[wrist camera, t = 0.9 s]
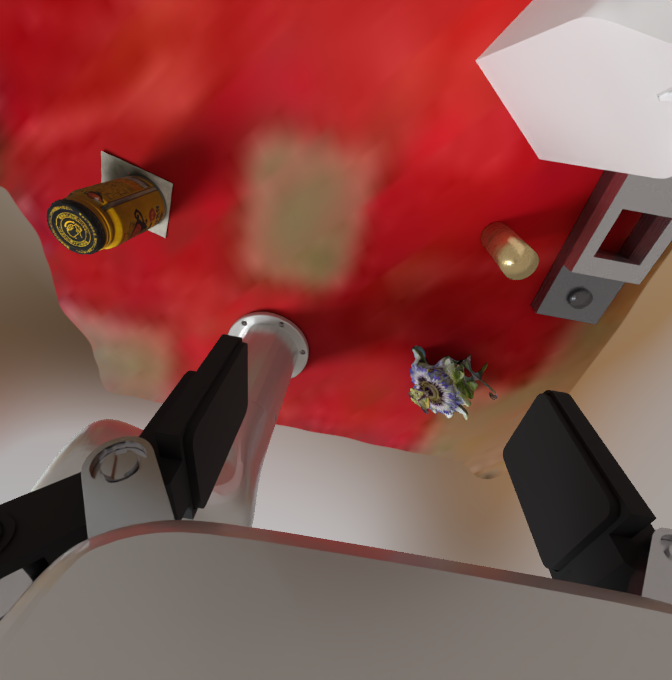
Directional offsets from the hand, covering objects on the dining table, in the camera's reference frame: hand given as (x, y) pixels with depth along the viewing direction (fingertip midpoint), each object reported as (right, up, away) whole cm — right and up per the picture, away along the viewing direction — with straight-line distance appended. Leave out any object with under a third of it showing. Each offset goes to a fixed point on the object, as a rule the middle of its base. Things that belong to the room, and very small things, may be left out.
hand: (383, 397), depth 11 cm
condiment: (-26, +20, +31) cm, 46 cm away
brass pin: (+17, +14, +29) cm, 37 cm away
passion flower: (+15, -1, +40) cm, 43 cm away
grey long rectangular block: (+29, +15, +27) cm, 43 cm away
